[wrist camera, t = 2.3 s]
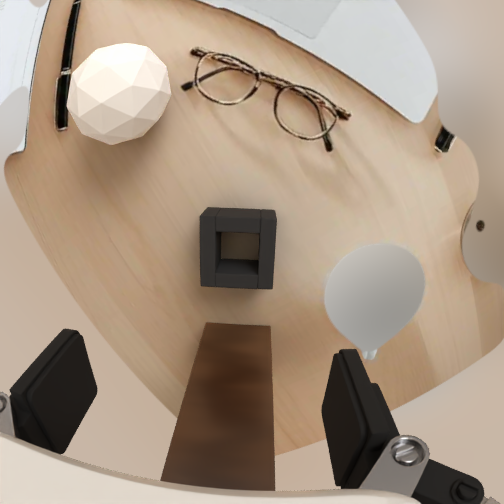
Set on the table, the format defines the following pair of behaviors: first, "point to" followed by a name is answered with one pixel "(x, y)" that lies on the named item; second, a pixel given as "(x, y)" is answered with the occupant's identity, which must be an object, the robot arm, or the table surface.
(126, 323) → the table surface
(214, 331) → the stand
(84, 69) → the geometric ball
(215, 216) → the dark grey square frame
